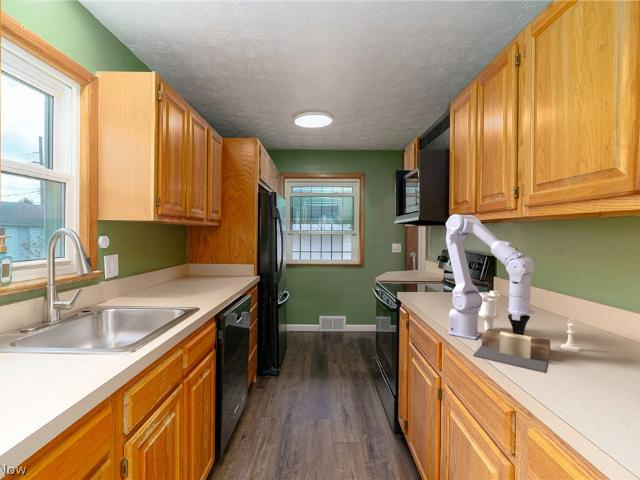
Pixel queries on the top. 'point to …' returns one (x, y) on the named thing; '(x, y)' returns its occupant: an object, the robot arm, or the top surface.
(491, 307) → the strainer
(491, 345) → the walnut deck
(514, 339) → the birch tile
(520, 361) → the rubber mat
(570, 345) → the chess piece
